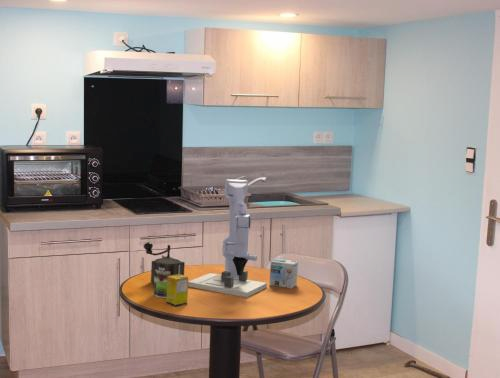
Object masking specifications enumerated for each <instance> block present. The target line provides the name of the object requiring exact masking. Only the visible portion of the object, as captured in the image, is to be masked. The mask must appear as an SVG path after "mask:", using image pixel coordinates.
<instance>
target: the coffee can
mask: <svg viewBox="0 0 500 378" xmlns="http://www.w3.org/2000/svg"><path fill="white" fill-rule="evenodd" d="M172 258H173V257H172ZM172 258H163V257H160V258H156V259H154V261H155V272H154V283H153V296H154V297H156V298H159V299H167V276H171V275H177V274H180V261H181V260H180V259H177V258H174V259H172Z"/></svg>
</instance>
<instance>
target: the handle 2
mask: <svg viewBox="0 0 500 378" xmlns="http://www.w3.org/2000/svg"><path fill="white" fill-rule="evenodd" d="M248 273H249V271H248V270H245V269H244V270H243V273H242V275H241V276H239V280H241V281H246V280H248V277H249V275H248Z"/></svg>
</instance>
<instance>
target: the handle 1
mask: <svg viewBox="0 0 500 378" xmlns="http://www.w3.org/2000/svg"><path fill="white" fill-rule="evenodd" d="M233 283H234V277H231V276H226V277H225V281H224V287H230V288H231V287H233Z"/></svg>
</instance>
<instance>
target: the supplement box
mask: <svg viewBox="0 0 500 378" xmlns="http://www.w3.org/2000/svg"><path fill="white" fill-rule="evenodd" d="M188 282H189V276H187V275H184V276H183V275H181V274H177V275H171V276H167V298H166V304H167V305H170V306H173V307H175V308H176V307H180V306H185V305H188V288H189V287H188Z"/></svg>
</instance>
